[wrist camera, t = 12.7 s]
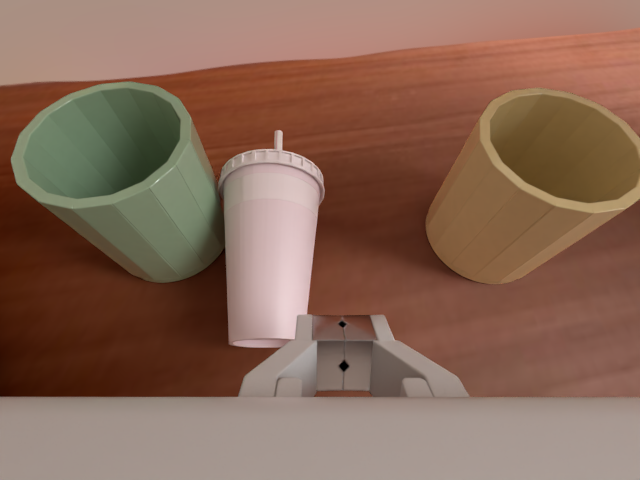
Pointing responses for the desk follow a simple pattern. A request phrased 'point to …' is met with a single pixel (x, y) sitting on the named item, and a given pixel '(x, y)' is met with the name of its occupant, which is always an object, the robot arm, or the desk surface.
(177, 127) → the sage cup
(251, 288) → the smoothie
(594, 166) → the tan cup
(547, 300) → the desk surface
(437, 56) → the desk surface
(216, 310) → the desk surface
